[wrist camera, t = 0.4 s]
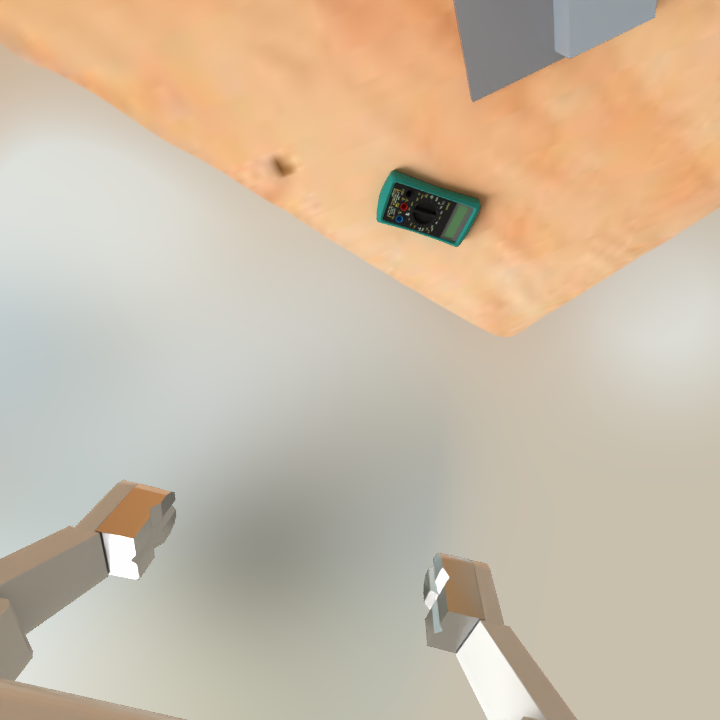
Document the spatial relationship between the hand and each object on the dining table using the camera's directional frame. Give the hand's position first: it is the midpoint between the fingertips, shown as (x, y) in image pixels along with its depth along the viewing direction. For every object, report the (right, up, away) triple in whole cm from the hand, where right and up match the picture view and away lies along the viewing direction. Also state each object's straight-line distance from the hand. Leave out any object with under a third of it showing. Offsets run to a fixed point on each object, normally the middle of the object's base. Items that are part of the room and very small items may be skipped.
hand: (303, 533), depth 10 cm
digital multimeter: (+12, +30, +43) cm, 54 cm away
